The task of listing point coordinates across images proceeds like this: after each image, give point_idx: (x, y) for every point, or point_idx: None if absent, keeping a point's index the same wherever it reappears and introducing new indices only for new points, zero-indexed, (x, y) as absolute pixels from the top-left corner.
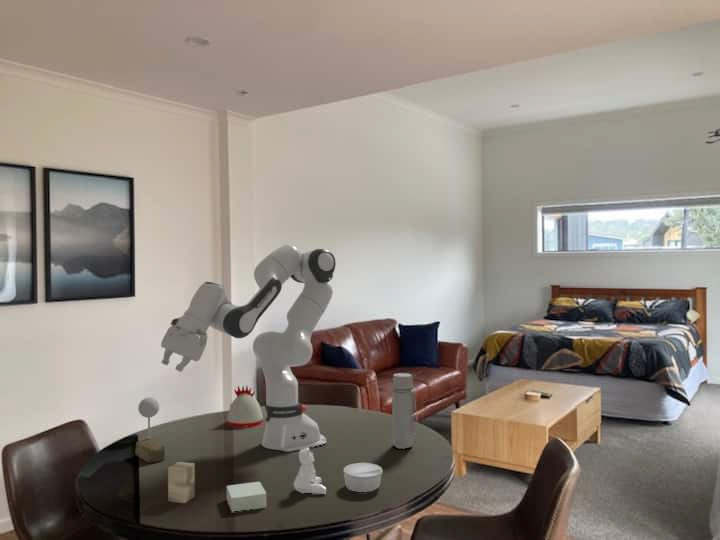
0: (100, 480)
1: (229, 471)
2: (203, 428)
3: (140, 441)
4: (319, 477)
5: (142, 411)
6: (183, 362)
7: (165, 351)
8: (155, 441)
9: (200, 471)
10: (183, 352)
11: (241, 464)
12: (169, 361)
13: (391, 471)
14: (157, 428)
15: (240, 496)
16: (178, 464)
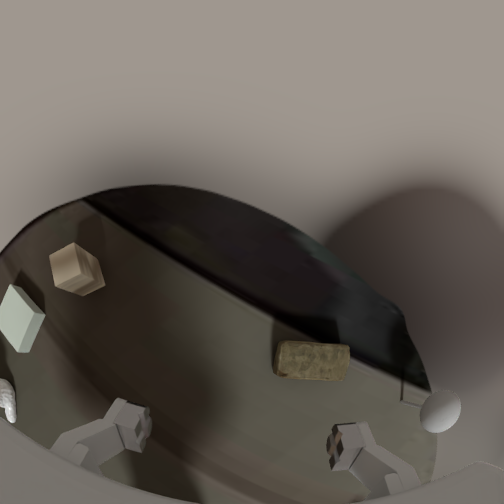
0: (262, 238)
1: None
2: None
3: (346, 354)
4: (8, 419)
5: (434, 394)
6: (79, 434)
7: (405, 475)
8: (328, 380)
9: (161, 378)
10: (50, 468)
11: None
12: (331, 466)
13: None
14: None
15: (6, 295)
16: (71, 264)
